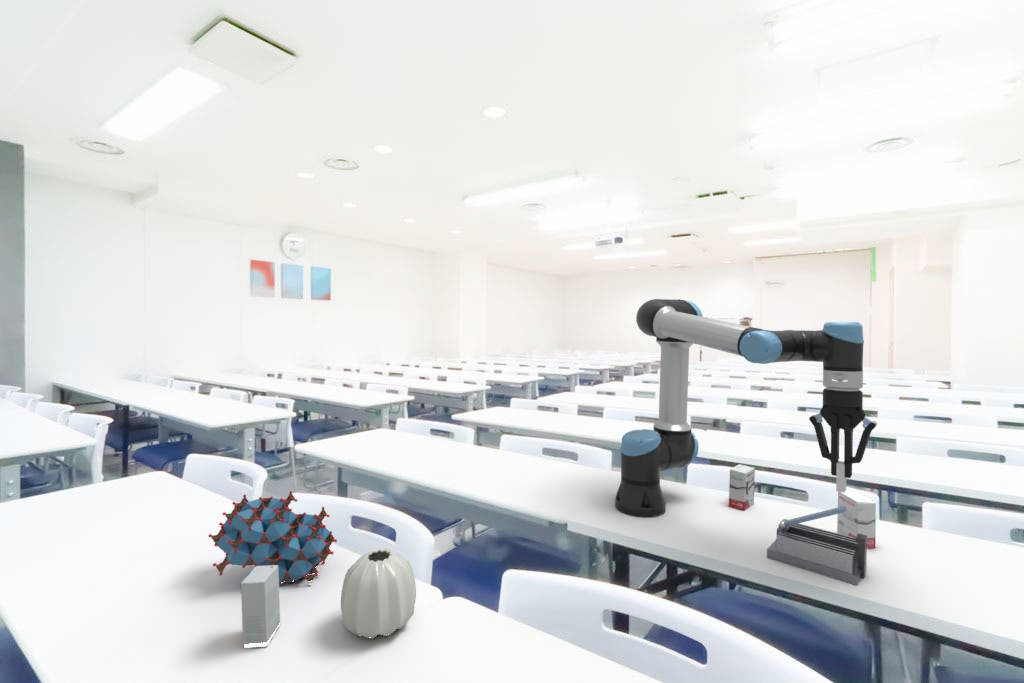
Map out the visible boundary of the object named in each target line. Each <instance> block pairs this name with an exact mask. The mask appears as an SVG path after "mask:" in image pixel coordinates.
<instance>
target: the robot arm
mask: <svg viewBox="0 0 1024 683" xmlns="http://www.w3.org/2000/svg"><path fill="white" fill-rule="evenodd" d="M635 318H636V320H635V322H636V325H637V327H638V329H639V330H640V331H641V333H642V334H644V335H647V336H650V337H654V338H656V340H655V341H656V344H658V345H659V347H660V366H659V367H660V368H659V373H660V374H659V395H658V397H659V400H658V420H657V421H655V423H653V429H646V428H644V429H633V430H630V431H627V432H626V433H624V434H623V436H622V437H621V443H620V469H621V470H620V483H619V487H618V489H617V492H616V495H615V499H614V500H615V501H614V504H615V505H614V506H615V508H616V509H617V510H618V511H620V512H621V513H624V514H627V515H630V516H632V517H633V516H634V517H643V518H648V517H649V518H652V517H653V518H654V517H658V516H661V515H663V514H665V513H666V506H667V504H666V500H665V497H664V493H663V490H662V487H661V480H660V479H661V472H663V471H669V470H673V469H678V468H679V469H680V468H684V467H685V466H687V465H690V464H692V463H693V462H694V461H695V460H696V458H697V457H698V454H699V449H700V448H699V447H700V446H699V442H698V439H697V438H696V435H695V433H694V432H692V426H691V425H690V424H689V423H688V422H687V421H688V420H687V418H688V396H689V395H688V394H689V393H688V392H689V391H688V390H689V364H690V363H689V362H690V347H692V346H693V345H694V344H695V345H699V346H702V347H707V348H710V349H714V350H717V351H721V352H725V353H728V354H732V355H736V356H740V357H743V359H745V360H747V361H748V362H750V363H753V364H760V365H767V364H771V363H772V364H773V363H783V362H785V363H786V362H819V363H822V369H823V370H822V386H823V387H824V389H822V407H821V408H820V410H819V413H817V414H812V415H811V416H809V417H808V418H809V419H808V420H809V421H810V423H811V425H813V428H814V431H815V435H816V438H817V442H818V446H819V450H820V454H821V457H822V458H823V459H827V460H829V461H830V473H831V476H835V477H836V481H835V482H836V486H835V487H836V488H835V489H836V492H837V493H838V492H843V493H844V492H845V491H847V479H851V477H852V476H853V464H859V463H860V462H862V460H863V459H864V454H865V452H866V449H867V447H868V446H867V445H868V443H869V439H870V437H871V433H872V431H873V430H874V429H875V428H876V427H877V426H878V423H877V421H875V420H871V419H869V418H868V417H866V413H865V412H864V409H863V407H864V406H863V400H864V399H863V397H864V396H863V394H864V393H863V391H862V390H861V389H862V388H863V386H864V385H863V384H864V383H863V382H864V368H863V365H864V363H863V360H864V344H865V341H864V331H863V328H864V327H863V326H862V323H861V322H859V321H828V322H827V321H826V322H824V324H823V327H822V329H821V330H819V329H818V330H803V329H802V330H797V329H795V330H793V329H790V330H789V329H785V330H768V329H763V328H759V327H753V326H747V325H743V324H739V323H734V322H729V321H725V320H720V319H715V318H709V317H707V316H706V317H704V315H703V313H702V311H701V308H700V307H698V305H697V304H696V303H694V302H693V301H690V300H686V299H681V298H680V299H668V298H667V299H665V298H664V299H661V298H654V299H650V300H647V301H645V302H644V303H642V305H640V307H639V309H638V310H637V313H636V317H635ZM823 419H824V421H825V422H826V423H827V425H828V426H829V427H830V449H829V445H828V440H827V437H826V433H825V430H824V426H823V423H822V422H823ZM861 422H862V428H863V431H862V434H861V436H860V439H859V443H858V444H857V445H858V447H857V449H856V452H855V455H854V456H853V452H854V451H853V450H854V448H853V446H854V445H853V443H854V442H853V441H854V439H853V438H854V429H855V428H856V427H858V425H859V424H860V423H861ZM841 430H843V434H844V435H843V436H844V445H843V446H844V447H843V448H844V450H843V451H844V453H843V454H844V455H843V458H844V461H841V460H840V433H841V432H840V431H841Z"/></svg>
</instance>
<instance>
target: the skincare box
mask: <svg viewBox="0 0 1024 683" xmlns="http://www.w3.org/2000/svg"><path fill="white" fill-rule="evenodd" d="M240 589H241V590H240V591H241V592H240V593H241V594H240V595H241V620H242V621H241V622H242V645H243V644H249V643H261V642H262V643H263V642H267V641H268V640H269V638H270V637H271V635H272V634H273V632H274V631H275V629H276V628H277V626H278V625H279V623H280V624H281V607H280V606H281V605H280V604H281V603H280V582H279V569H278V565H268V566H256V567H255V566H254V568H253V569H252V570H251V571H250V573H248V574H247V576H246V577H245V578H244V579H243V581H241V583H240Z"/></svg>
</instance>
